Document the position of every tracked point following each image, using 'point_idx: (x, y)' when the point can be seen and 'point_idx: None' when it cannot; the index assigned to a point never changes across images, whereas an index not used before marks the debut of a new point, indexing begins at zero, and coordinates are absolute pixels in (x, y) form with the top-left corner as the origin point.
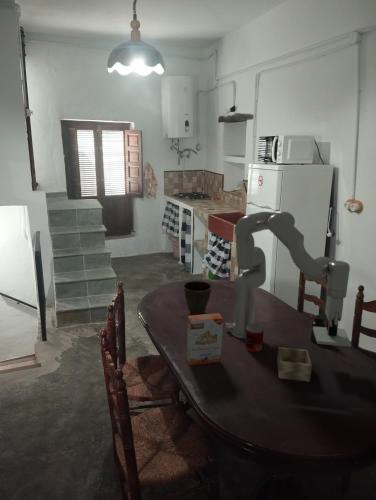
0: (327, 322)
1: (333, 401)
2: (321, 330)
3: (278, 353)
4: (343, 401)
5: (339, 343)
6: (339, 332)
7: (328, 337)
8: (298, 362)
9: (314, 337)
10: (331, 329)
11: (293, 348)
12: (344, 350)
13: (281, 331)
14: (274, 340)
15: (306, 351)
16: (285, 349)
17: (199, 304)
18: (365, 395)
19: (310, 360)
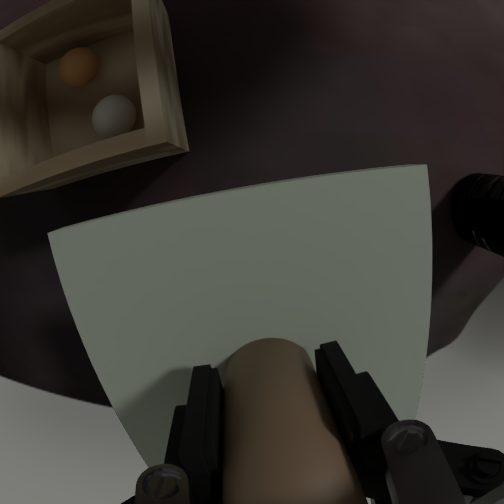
0: (374, 409)
1: (4, 285)
2: (352, 268)
3: None
4: (20, 317)
5: (125, 423)
6: None
7: (186, 350)
8: (110, 106)
9: (470, 195)
10: (175, 445)
11: (153, 40)
12: None
13: (482, 52)
14: (399, 4)
15: (137, 134)
16: (131, 2)
17: None
18: (91, 390)
19: (36, 182)
